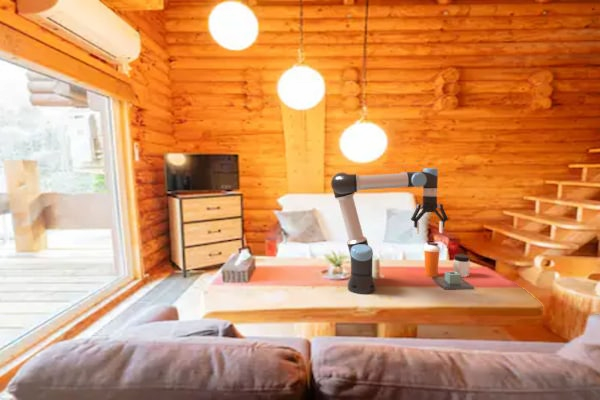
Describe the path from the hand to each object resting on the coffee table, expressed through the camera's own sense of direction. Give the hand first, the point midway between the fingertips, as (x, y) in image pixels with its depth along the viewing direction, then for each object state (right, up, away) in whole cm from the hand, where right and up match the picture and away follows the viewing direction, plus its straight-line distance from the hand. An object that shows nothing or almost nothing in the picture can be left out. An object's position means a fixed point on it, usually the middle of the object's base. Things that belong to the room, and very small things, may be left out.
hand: (429, 233), depth 184 cm
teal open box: (+13, -27, -1) cm, 30 cm away
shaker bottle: (+7, -27, +15) cm, 32 cm away
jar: (+25, -27, +14) cm, 40 cm away
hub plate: (+12, -29, -1) cm, 31 cm away
